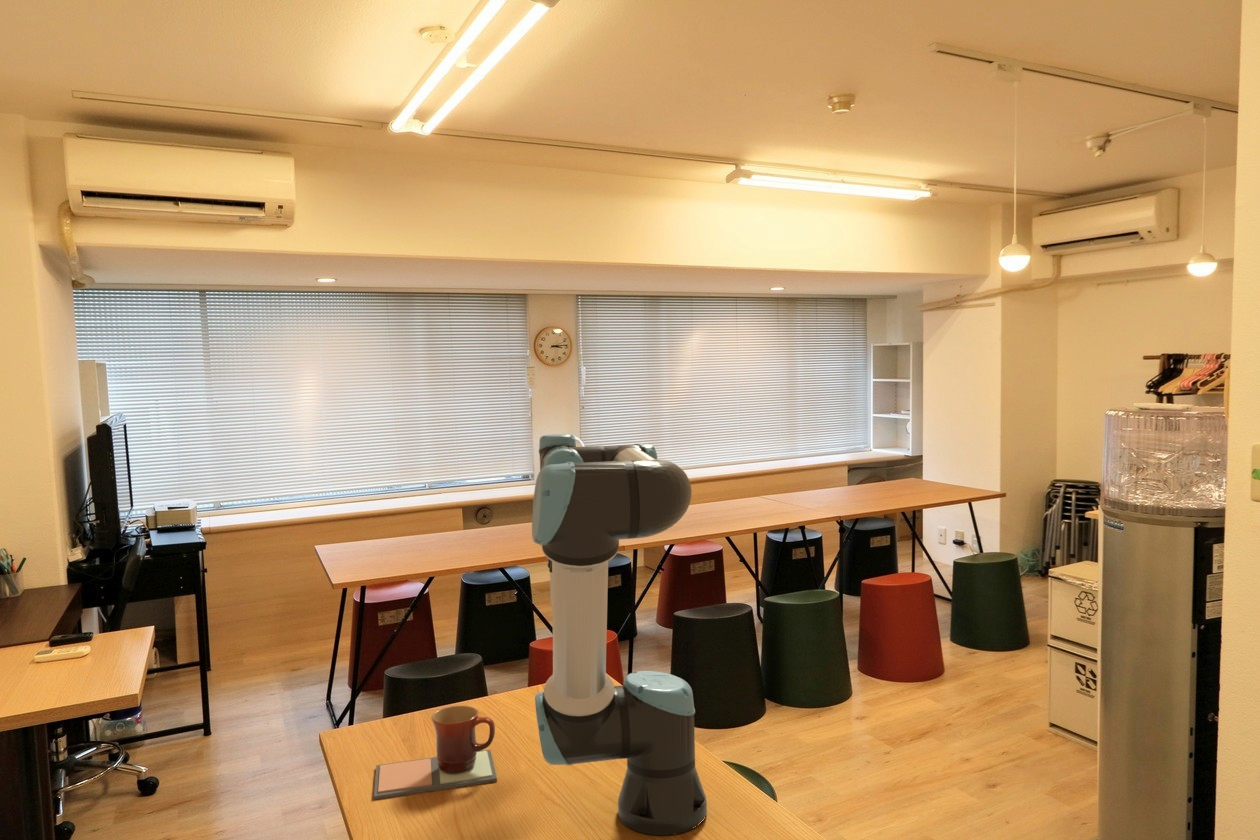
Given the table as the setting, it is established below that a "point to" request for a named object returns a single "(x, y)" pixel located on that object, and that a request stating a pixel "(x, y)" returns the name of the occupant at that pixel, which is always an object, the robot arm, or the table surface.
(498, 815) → the table surface
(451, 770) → the mug
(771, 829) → the table surface
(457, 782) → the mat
